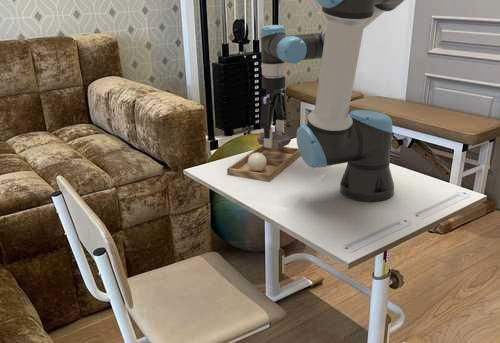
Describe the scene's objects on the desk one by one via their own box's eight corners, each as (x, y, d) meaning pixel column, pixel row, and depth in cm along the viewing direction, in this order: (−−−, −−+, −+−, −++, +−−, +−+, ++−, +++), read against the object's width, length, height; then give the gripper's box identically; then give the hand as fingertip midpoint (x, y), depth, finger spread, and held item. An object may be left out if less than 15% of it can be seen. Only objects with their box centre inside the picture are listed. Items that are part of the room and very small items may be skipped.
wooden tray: (301, 157, 171) (301, 149, 170) (269, 184, 150) (269, 175, 149) (263, 151, 178) (263, 143, 176) (227, 177, 156) (227, 168, 155)
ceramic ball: (270, 168, 159) (269, 151, 157) (261, 175, 154) (261, 157, 152) (253, 166, 162) (252, 148, 160) (244, 172, 157) (244, 154, 155)
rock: (268, 138, 174) (268, 126, 172) (294, 145, 167) (294, 132, 165) (252, 144, 168) (252, 132, 167) (278, 152, 161) (278, 138, 159)
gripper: (276, 69, 169) (277, 132, 177) (247, 81, 151) (249, 151, 160) (297, 70, 165) (297, 134, 174) (269, 83, 148) (270, 154, 156)
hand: (274, 142), depth 167 cm, fingers closed on rock, 9 cm apart
